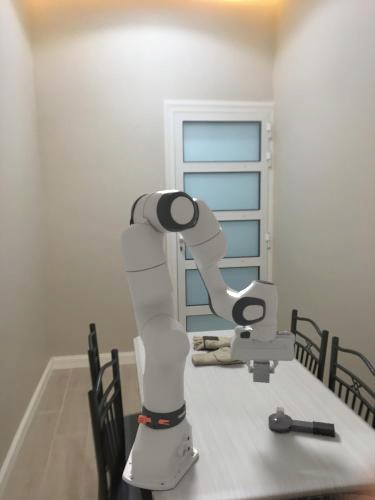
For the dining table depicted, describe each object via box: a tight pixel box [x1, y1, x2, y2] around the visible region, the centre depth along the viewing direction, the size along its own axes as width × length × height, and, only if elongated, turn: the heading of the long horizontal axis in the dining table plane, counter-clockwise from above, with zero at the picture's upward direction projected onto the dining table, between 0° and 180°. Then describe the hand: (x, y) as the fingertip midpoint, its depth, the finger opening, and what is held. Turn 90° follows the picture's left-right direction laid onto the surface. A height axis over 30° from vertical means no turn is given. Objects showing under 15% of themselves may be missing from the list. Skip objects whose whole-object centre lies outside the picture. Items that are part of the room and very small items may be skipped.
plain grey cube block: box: [252, 360, 271, 384], centre depth 129 cm, size 5×5×6 cm
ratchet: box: [268, 406, 336, 438], centre depth 121 cm, size 7×19×6 cm, turn 74°
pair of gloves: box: [190, 335, 246, 366], centre depth 183 cm, size 30×26×5 cm
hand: (261, 372), depth 129 cm, fingers closed on plain grey cube block, 5 cm apart
